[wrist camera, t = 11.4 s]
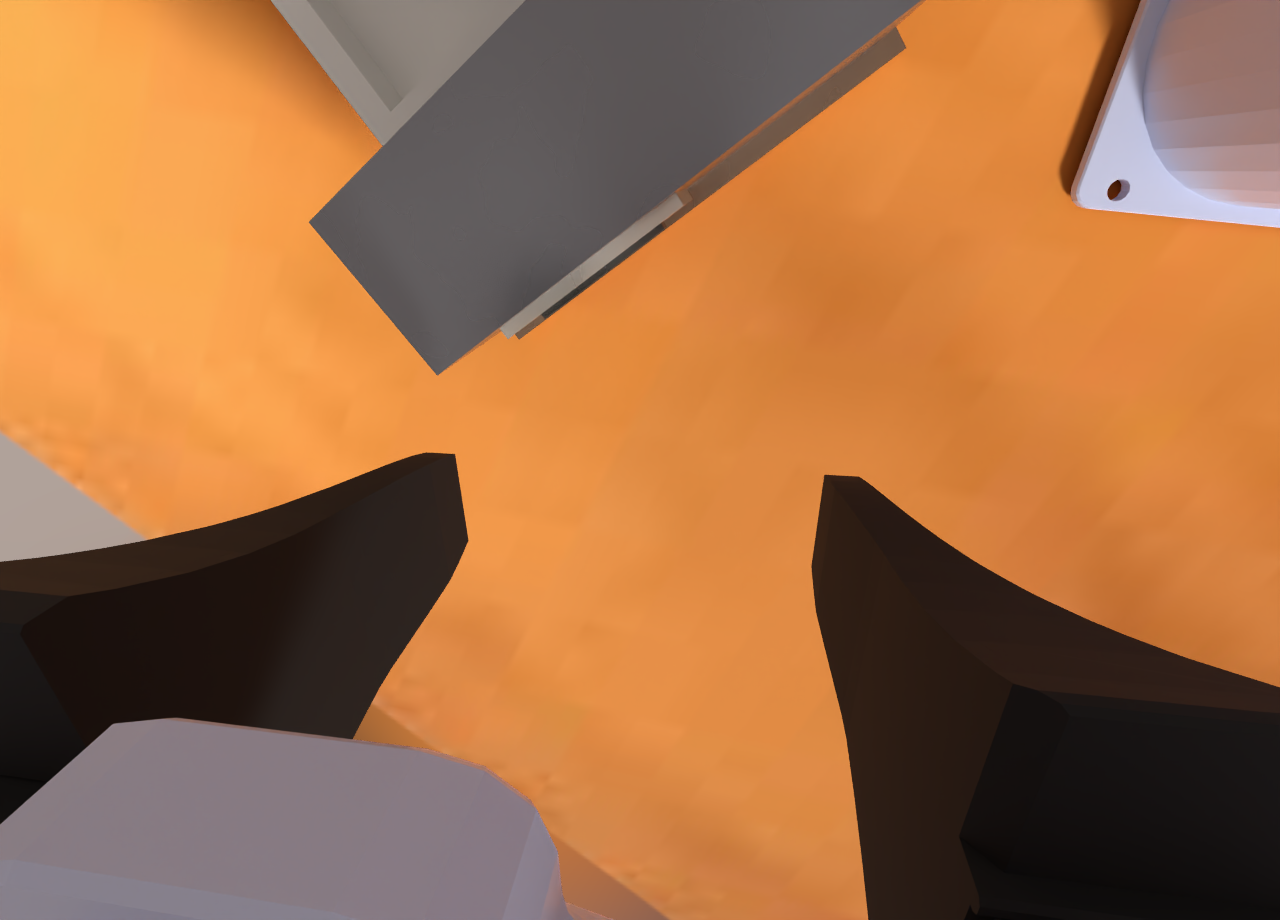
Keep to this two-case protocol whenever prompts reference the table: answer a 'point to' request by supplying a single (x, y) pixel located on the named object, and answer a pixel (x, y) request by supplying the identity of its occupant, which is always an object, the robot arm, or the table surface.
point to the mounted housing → (583, 150)
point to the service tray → (393, 48)
